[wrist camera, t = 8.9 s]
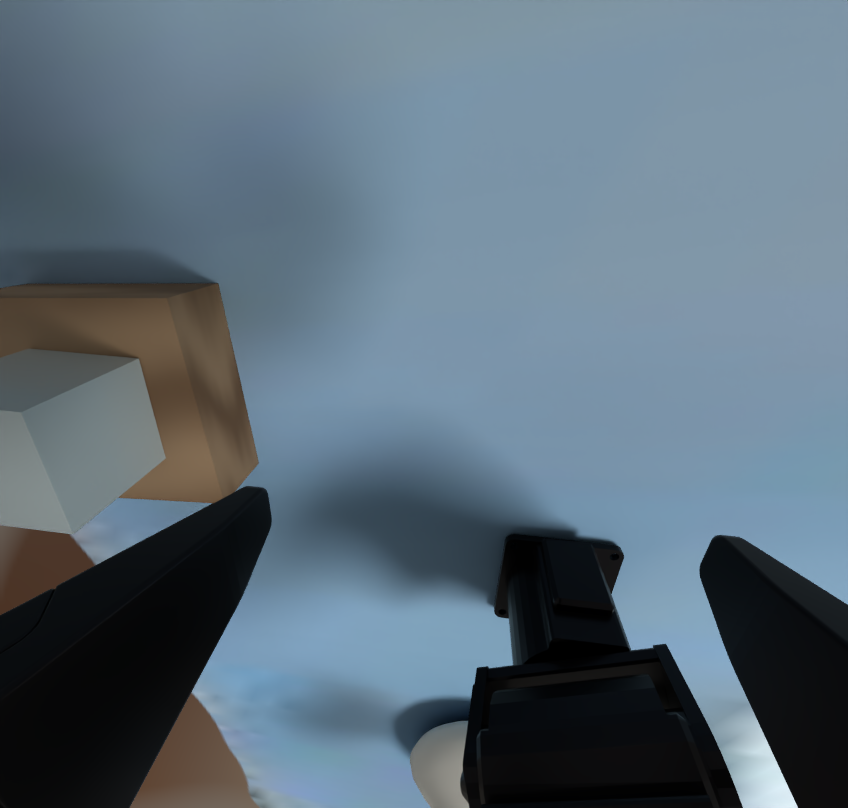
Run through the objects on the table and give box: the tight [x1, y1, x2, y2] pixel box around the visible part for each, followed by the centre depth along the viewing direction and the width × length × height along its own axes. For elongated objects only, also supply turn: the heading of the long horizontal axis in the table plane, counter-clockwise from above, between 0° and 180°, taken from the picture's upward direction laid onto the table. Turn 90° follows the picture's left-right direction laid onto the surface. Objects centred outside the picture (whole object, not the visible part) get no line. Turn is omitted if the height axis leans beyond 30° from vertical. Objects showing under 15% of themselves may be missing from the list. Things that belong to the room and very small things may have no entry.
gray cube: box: [0, 349, 166, 534], centre depth 16 cm, size 5×5×5 cm
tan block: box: [0, 283, 259, 503], centre depth 20 cm, size 10×10×4 cm
